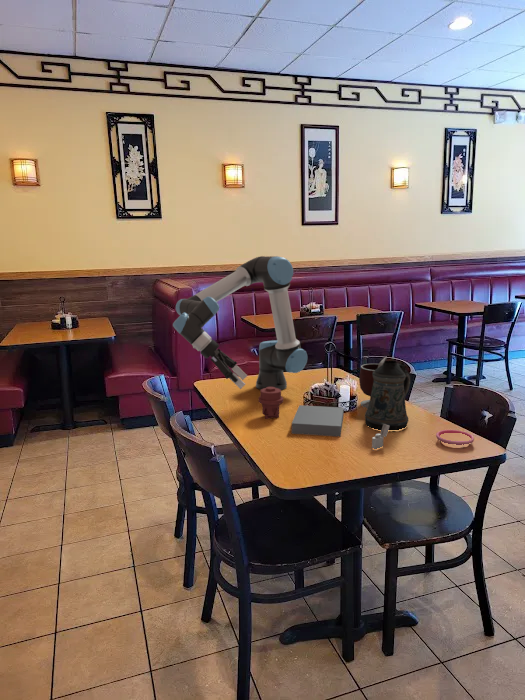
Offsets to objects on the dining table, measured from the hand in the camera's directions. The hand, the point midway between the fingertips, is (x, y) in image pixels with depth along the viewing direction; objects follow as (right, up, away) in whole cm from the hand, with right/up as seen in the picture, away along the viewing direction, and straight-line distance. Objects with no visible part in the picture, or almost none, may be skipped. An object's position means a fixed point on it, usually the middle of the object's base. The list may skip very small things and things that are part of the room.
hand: (244, 382), depth 207 cm
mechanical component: (+11, -15, +3) cm, 18 cm away
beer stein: (+56, -16, -6) cm, 58 cm away
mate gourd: (+57, -11, +17) cm, 60 cm away
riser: (+29, -16, -7) cm, 34 cm away
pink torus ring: (+75, -20, -26) cm, 82 cm away
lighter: (+48, -21, -30) cm, 60 cm away
